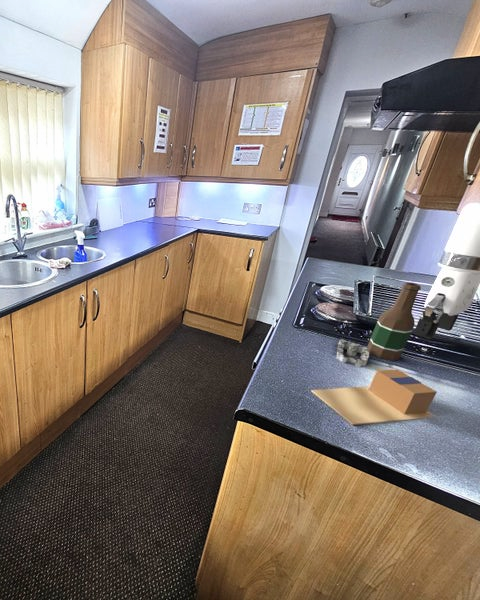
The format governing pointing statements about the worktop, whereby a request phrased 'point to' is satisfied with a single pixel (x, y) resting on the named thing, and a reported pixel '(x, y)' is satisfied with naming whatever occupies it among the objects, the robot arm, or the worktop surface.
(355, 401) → the board
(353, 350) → the egg carton
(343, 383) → the worktop surface
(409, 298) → the beer bottle
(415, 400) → the box
